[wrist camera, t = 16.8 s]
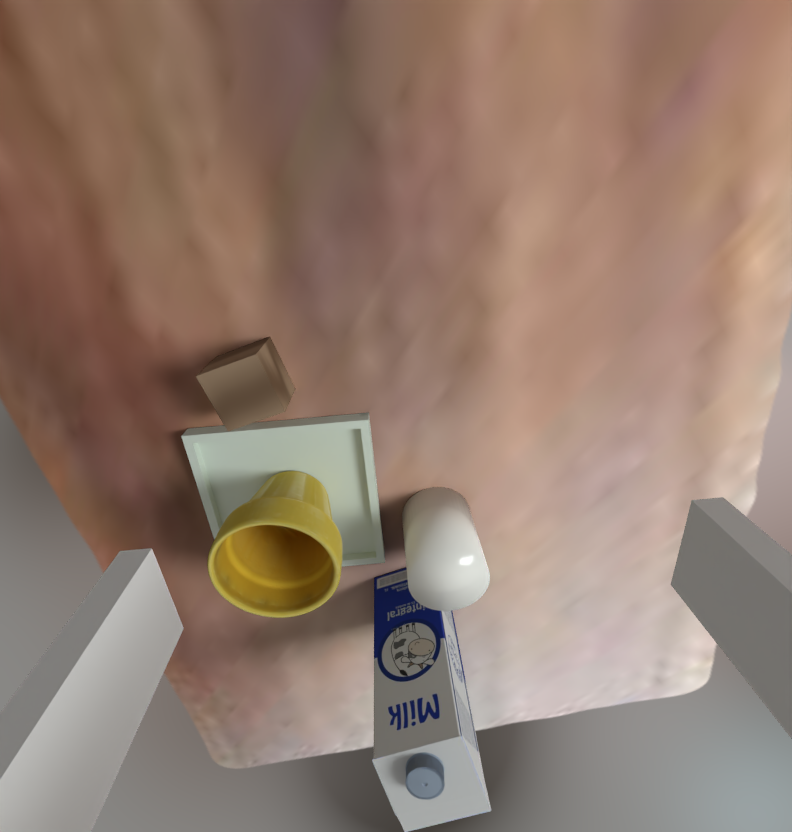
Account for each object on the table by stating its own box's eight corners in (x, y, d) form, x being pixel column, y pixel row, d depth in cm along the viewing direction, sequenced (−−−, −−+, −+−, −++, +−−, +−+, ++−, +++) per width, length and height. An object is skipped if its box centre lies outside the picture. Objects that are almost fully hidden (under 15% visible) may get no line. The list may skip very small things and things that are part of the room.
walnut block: (217, 356, 38) (195, 376, 34) (270, 336, 38) (256, 354, 33) (244, 406, 40) (228, 431, 36) (295, 388, 40) (285, 411, 35)
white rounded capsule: (399, 490, 45) (405, 553, 37) (469, 484, 45) (490, 545, 37) (404, 544, 48) (410, 614, 39) (469, 538, 48) (489, 607, 40)
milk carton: (394, 617, 52) (404, 836, 34) (372, 577, 49) (371, 792, 31) (451, 600, 51) (493, 814, 33) (433, 558, 49) (467, 767, 30)
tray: (187, 428, 41) (181, 436, 39) (368, 412, 41) (368, 419, 40) (230, 566, 48) (226, 576, 46) (384, 552, 48) (384, 562, 47)
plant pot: (282, 555, 47) (260, 637, 38) (218, 484, 43) (177, 556, 34) (367, 513, 45) (364, 589, 36) (308, 435, 41) (290, 498, 32)
